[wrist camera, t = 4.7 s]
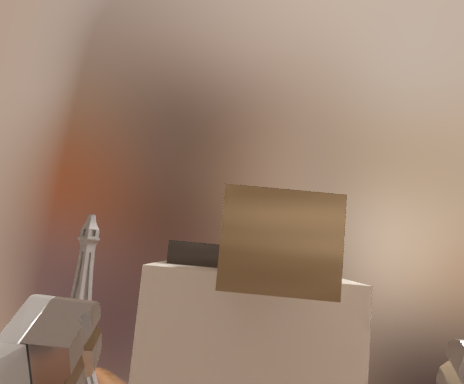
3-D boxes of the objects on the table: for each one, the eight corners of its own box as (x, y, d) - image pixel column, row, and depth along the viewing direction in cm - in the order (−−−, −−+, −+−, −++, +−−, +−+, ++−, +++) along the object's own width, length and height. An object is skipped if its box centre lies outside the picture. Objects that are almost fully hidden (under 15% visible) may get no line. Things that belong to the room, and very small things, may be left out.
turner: (188, 258, 33) (191, 225, 34) (305, 269, 33) (307, 235, 33) (90, 279, 10) (105, 172, 11) (467, 314, 10) (469, 205, 11)
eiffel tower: (-23, 456, 52) (16, 207, 56) (73, 425, 62) (100, 218, 66) (39, 502, 44) (80, 209, 48) (137, 458, 55) (163, 222, 59)
